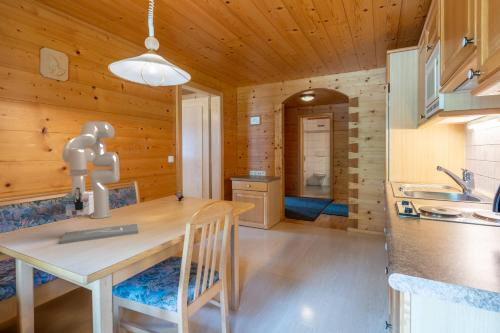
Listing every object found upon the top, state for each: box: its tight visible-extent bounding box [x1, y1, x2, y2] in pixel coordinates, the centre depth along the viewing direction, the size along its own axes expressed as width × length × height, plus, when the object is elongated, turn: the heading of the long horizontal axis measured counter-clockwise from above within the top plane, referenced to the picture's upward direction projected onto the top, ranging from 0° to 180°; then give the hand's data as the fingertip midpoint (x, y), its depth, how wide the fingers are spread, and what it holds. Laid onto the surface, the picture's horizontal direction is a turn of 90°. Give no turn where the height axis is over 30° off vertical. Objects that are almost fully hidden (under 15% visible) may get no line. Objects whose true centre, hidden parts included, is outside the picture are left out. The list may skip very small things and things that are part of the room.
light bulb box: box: [64, 190, 94, 217], centre depth 132 cm, size 11×7×11 cm, turn 106°
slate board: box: [59, 223, 139, 245], centre depth 138 cm, size 14×34×2 cm, turn 116°
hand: (80, 208), depth 133 cm, fingers closed on light bulb box, 7 cm apart
